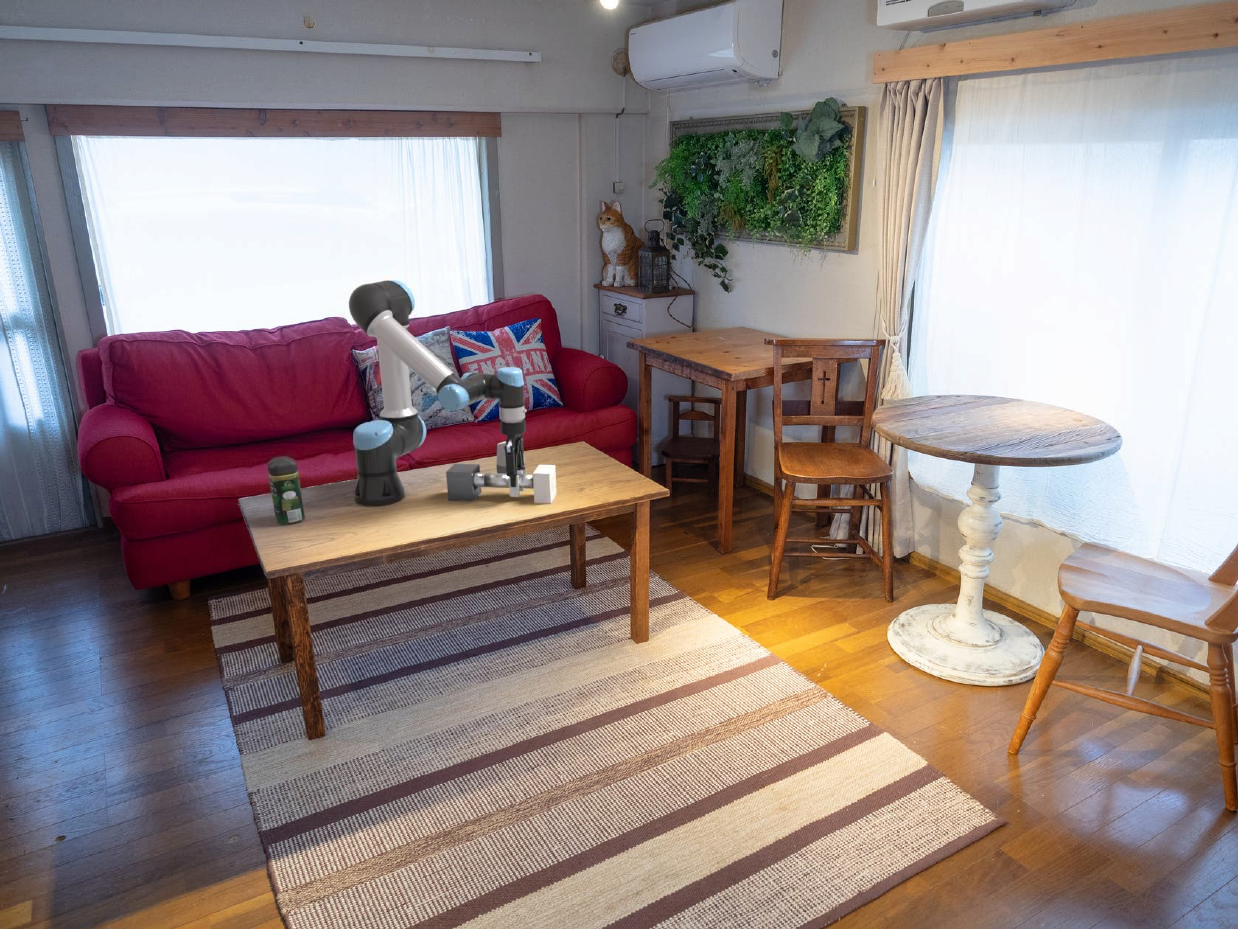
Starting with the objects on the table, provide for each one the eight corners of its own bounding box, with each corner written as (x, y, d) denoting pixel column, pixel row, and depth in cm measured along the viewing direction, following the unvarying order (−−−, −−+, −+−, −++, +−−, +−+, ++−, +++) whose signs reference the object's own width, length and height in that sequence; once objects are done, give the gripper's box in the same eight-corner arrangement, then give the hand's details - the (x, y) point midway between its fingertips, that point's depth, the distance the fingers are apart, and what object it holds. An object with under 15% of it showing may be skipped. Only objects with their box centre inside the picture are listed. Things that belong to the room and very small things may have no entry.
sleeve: (448, 500, 262) (445, 471, 259) (457, 491, 270) (454, 463, 267) (473, 501, 261) (471, 472, 258) (481, 492, 269) (479, 464, 266)
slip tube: (459, 488, 263) (458, 474, 261) (463, 484, 267) (462, 470, 265) (542, 491, 259) (541, 476, 258) (545, 486, 263) (544, 472, 262)
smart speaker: (510, 472, 287) (508, 432, 283) (531, 477, 282) (529, 436, 278) (491, 480, 280) (488, 439, 276) (512, 485, 275) (509, 443, 271)
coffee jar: (273, 517, 252) (264, 456, 246) (301, 512, 255) (293, 452, 250) (278, 527, 243) (268, 465, 238) (307, 522, 247) (298, 460, 241)
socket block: (534, 503, 258) (532, 473, 256) (540, 494, 266) (539, 464, 263) (550, 503, 258) (549, 473, 255) (556, 494, 265) (555, 465, 263)
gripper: (517, 427, 247) (521, 503, 254) (532, 412, 263) (535, 484, 271) (492, 427, 248) (497, 502, 255) (508, 412, 264) (512, 483, 272)
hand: (517, 493), depth 263 cm, fingers closed on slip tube, 4 cm apart
